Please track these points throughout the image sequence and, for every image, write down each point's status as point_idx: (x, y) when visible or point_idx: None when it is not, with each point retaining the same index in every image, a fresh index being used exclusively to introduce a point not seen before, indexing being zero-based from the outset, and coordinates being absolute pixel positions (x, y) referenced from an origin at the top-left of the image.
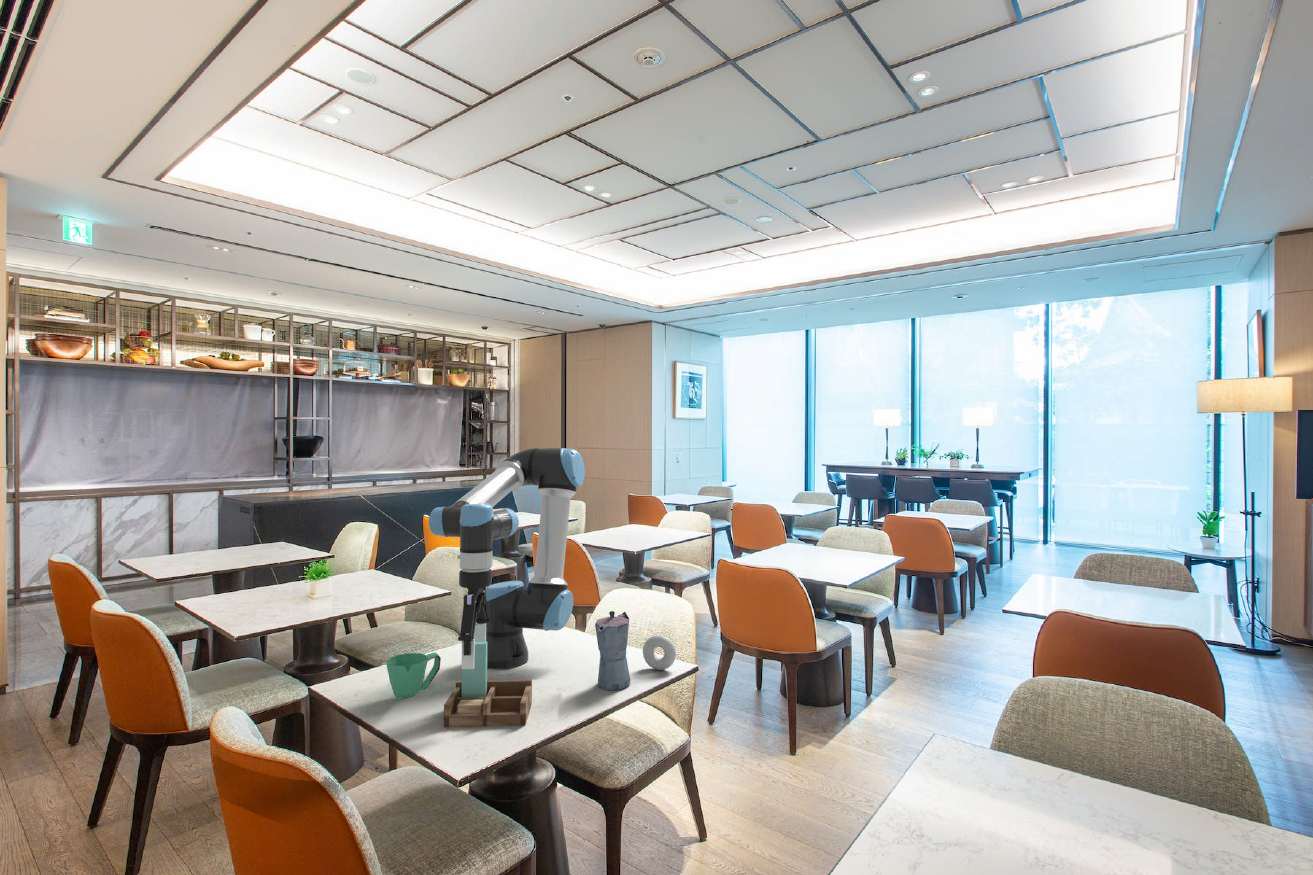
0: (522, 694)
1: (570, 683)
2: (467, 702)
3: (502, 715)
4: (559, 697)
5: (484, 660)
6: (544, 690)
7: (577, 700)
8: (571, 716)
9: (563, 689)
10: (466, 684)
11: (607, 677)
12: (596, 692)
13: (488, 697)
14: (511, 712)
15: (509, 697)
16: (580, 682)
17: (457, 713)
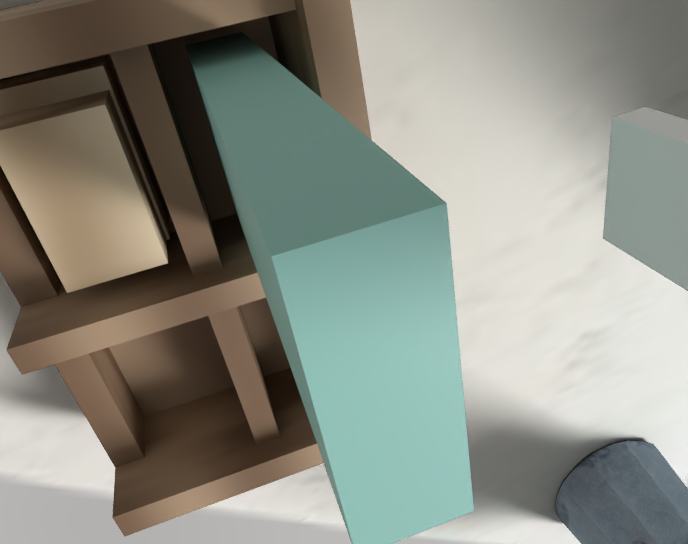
0: None
1: (636, 356)
2: (75, 180)
3: (77, 396)
4: (499, 380)
5: (297, 386)
6: (576, 296)
7: (470, 446)
8: (323, 491)
9: (579, 359)
10: (213, 127)
11: (591, 522)
12: (541, 467)
13: (138, 325)
14: (125, 422)
15: (241, 383)
16: (640, 384)
17: (15, 107)
